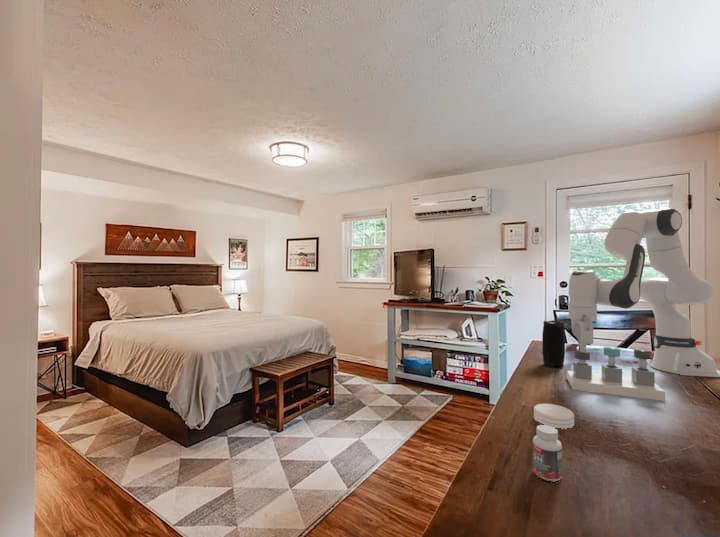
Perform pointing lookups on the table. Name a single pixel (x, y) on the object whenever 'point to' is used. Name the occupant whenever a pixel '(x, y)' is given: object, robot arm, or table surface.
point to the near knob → (642, 357)
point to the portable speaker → (553, 343)
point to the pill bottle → (547, 453)
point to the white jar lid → (554, 416)
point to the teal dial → (611, 355)
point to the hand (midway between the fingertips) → (582, 351)
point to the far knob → (582, 357)
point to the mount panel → (615, 381)
